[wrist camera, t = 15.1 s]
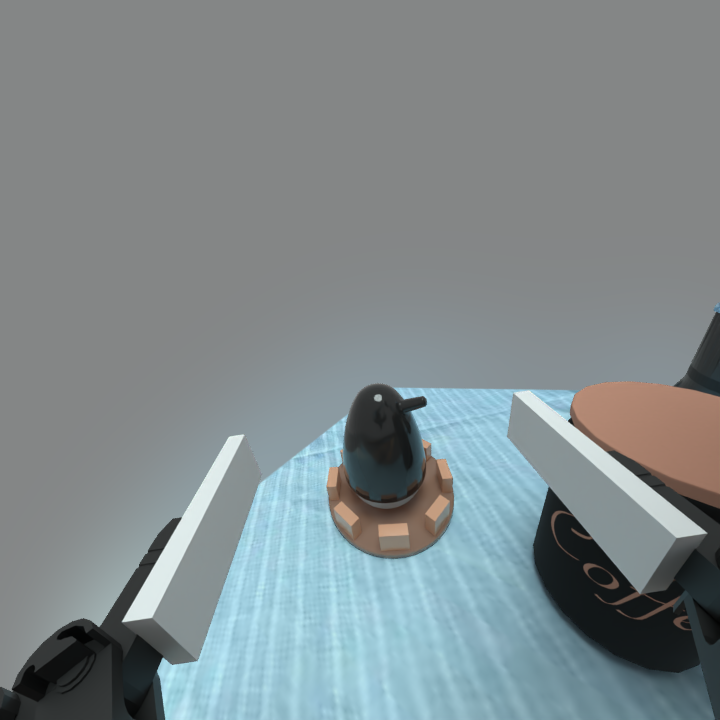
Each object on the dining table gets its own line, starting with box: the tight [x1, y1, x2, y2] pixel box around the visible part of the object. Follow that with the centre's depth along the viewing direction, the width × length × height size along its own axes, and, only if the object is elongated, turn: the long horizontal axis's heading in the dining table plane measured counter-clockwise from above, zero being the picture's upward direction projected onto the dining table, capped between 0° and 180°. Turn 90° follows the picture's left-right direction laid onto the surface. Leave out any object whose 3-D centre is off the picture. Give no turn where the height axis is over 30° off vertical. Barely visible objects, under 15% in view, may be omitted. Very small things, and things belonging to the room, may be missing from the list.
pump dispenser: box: [343, 383, 427, 509], centre depth 30 cm, size 10×10×15 cm
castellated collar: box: [327, 439, 454, 558], centre depth 33 cm, size 16×16×3 cm
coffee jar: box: [533, 382, 720, 673], centre depth 19 cm, size 11×11×18 cm
